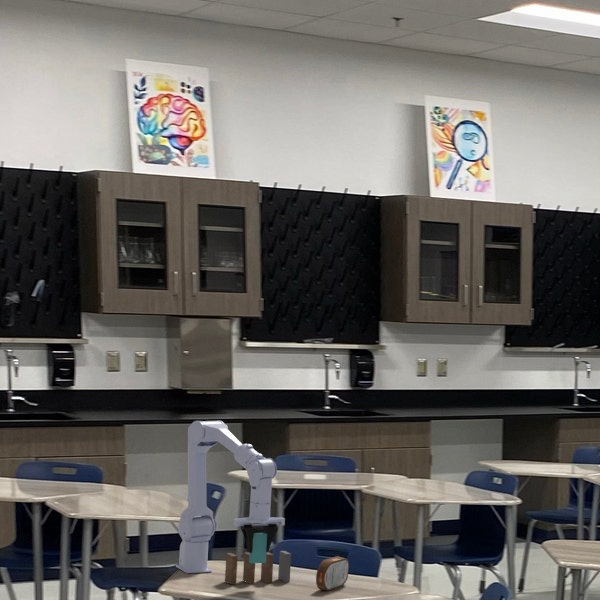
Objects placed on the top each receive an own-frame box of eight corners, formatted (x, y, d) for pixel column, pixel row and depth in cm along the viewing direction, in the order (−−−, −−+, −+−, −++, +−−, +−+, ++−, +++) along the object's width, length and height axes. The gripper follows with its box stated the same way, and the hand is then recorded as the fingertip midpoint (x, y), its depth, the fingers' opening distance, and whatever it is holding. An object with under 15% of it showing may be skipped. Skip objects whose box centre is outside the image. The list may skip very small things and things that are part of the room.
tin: (340, 583, 333) (341, 553, 334) (350, 584, 332) (351, 555, 332) (314, 592, 320) (315, 561, 321) (324, 593, 319) (325, 562, 319)
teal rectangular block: (248, 562, 321) (250, 533, 322) (263, 561, 323) (265, 532, 323) (251, 563, 320) (252, 534, 320) (265, 562, 322) (267, 533, 322)
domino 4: (284, 582, 330) (286, 554, 331) (278, 578, 334) (279, 551, 335) (289, 582, 331) (291, 553, 331) (283, 578, 335) (284, 550, 335)
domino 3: (266, 583, 328) (268, 554, 328) (260, 579, 332) (262, 551, 332) (272, 582, 329) (273, 554, 329) (265, 579, 333) (267, 551, 333)
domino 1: (230, 585, 323) (232, 556, 324) (224, 581, 327) (226, 553, 328) (236, 584, 324) (237, 556, 324) (230, 581, 328) (231, 552, 328)
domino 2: (248, 584, 326) (250, 555, 326) (242, 580, 330) (244, 552, 330) (254, 583, 326) (255, 555, 327) (248, 580, 330) (249, 552, 331)
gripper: (241, 505, 315) (238, 555, 315) (290, 504, 321) (287, 553, 321) (232, 501, 322) (229, 550, 322) (280, 500, 328) (277, 548, 327)
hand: (257, 551), depth 322 cm, fingers closed on teal rectangular block, 4 cm apart
